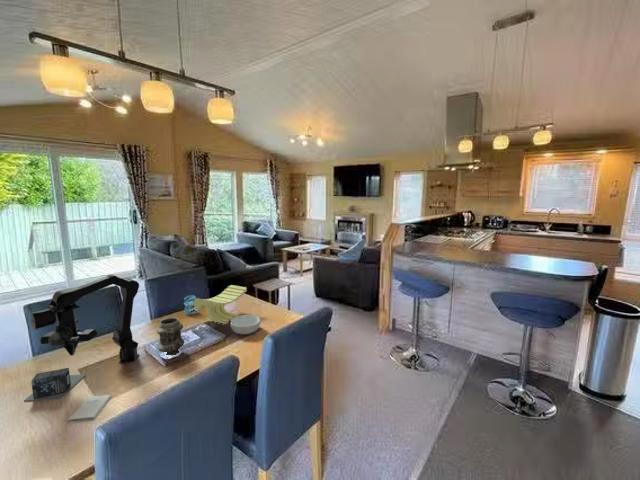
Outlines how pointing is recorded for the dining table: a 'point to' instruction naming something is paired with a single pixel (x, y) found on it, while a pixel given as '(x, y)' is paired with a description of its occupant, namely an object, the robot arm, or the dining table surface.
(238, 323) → the cereal bowl
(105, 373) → the dining table surface
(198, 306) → the slatted curved stool
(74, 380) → the mat
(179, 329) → the apothecary jar
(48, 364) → the dining table surface
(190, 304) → the blue patterned cup
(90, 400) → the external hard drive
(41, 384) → the box
